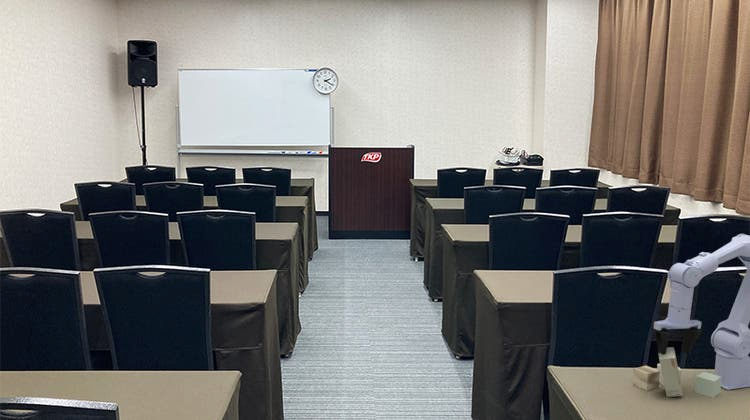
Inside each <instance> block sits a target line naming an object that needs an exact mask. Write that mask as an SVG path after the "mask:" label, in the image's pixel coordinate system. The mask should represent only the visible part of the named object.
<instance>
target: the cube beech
mask: <svg viewBox="0 0 750 420" xmlns="http://www.w3.org/2000/svg"><path fill="white" fill-rule="evenodd" d="M659 376H660V371H658V370H657V368H653V367H651V366H648V365H643V366H639V367H634V368H633V377H632V385H633V384H635V385H637V386H639V387H638V388H640V387H641V388H640V389H642V388H643V389H642V390H644V389H646V390H647V391H650V390H649V389H651V390H654V388H655V389H659V387H660V382H659ZM635 385H634V386H635ZM637 386H636V387H637ZM646 390H645V391H646Z"/></svg>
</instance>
